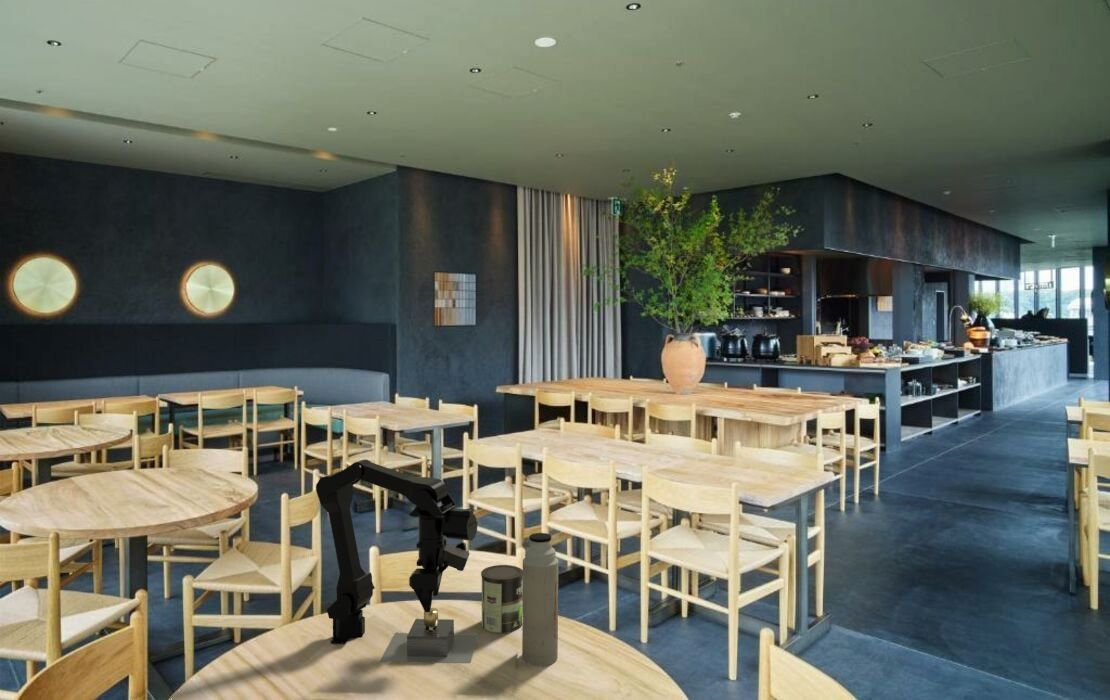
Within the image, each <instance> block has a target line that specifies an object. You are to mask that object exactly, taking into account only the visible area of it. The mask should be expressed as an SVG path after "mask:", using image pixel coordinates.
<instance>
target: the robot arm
mask: <svg viewBox="0 0 1110 700" xmlns="http://www.w3.org/2000/svg"><path fill="white" fill-rule="evenodd" d="M360 481H363V482H366V483H369V484H371V485H374V486H377V487H380V488H383V489H385V490H387V491H391V492H393V493H396V494H400V495H401V496H404V498H406V500H408V502H409V503H411V504H413V505H414V506H415V507H414V509H413V510H412V511H410V512H409V514H408V515H409V516H410V517H414V518H415V517H416V518H418V519H417V520H418V522H417V523H418V532H417V533H418V541H417V542H416V549H418V559H417V560H416V566H417V568H416V569H415V570H414V571H412V573H411V575H410V576H409V578H408V579H409V580H408V584H409V585H408V587H410V588H411V589H412V591H414V593H415V596H416V597H417V598H418V601H419V603H420V604H421V606H422V609H423V612H424V611H425V612H430V609H431V608H432V604H433V603H432V602H433V598H434V597H436V596H439V591H440V586H441V583H442V582H441V581H442V577H443V574H444V572H445V570H446V569H448V567H451V568H454V569H456V570H457V571H459V572H462V571H464V570H465V567H466V565H467V561H468V559H469V556H470V552H469V551H470V550H467V543H466V542H463V541H468V542H469V541H473V540H475V538H476V535H477V531H478V525H479V523H478V521H477V517H476V515H475V514H474V508H457V507H458V505H457V504H456V502H455V500H454V499H453V497H452V496H451V494H450V493H449V491H448V487H447V485H446V483H445V482H444V480H442V479H440V478H435V477H428V476H412V475H409V474H406V473H403V472H400V471H397V470H395V469H391V468H389V467H386V466H383V465H380V464H378V463H374V462H372V461H371V460H368V459H365V458H364V459H361V460H358V461H355V462H353V463H352V464H351V465H349V466H347V467H345V468H344V469H343V470H340V471H339V470H338V471H337V472H334V473H330V474H327V475H325V476H322V477H320V479H318V481H317V482H316V484H315V491H316V495H317V497H318V500H319V503H320V505H321V506H322V508H323V509H324V510H325V511H326V512H327V514H328V517H329V524H330V530H331V533H332V539H333V540H332V541H333V545H334V548H335V555H336V559H337V560H336V561H337V566H338V572H339V574H338V575H339V576H338V579H337V582H336V588H335V594H336V600H335V601H334V602H333V603H331V604H330V605H329V607H327V609H326V613H327V616H328V618H329V620H331V619H332V638H330V639H331V640H330V642H329V643H330V644H340V645H346V644H347V643H348V641H350V640H352V639H355V638H357V639H359V638H363V636H364V634H365V633H366V618H365V616H363V613H364V612H363V609H364V608H366V607H367V604H368V602H369V601H370V600H371V599H372V597H373V595H374V589H376V587H375V585H374V583H373V574H372V572H366V571H364V570H363V568H362V566H361V563H360V562H361V561H360V556H359V551H358V546H357V539H356V536H355V530H354V525H353V524H354V523H353V519H352V513H351V504H352V501H353V497H354V486H355V485H356V484H357V483H359V482H360ZM439 504H442V505H440V506H439ZM448 539H452V540H461V541H459V542H457V544H455V545H454V544H452V545H451V544H448ZM418 567H422V568H418Z"/></svg>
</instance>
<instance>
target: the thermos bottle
mask: <svg viewBox="0 0 1110 700" xmlns="http://www.w3.org/2000/svg"><path fill="white" fill-rule="evenodd" d="M524 556H525V557H524V558H523V559H522V570H523V590H522V625H523V628H521V629H522V630H521V632H522V635H521V636H522V637H521V638H522V640H521V641H522V642H521V643H522V644H521V645H522V647H521V649H522V652H521V656H522V660H523V662H524V663H525V664H527V665H530V666H535V667H545V666H550V665H553V664H554V663H555V662H557V661H558V658H559V657H558V651H559V650H558V649H559V647H558V645H559V644H558V643H559V642H558V641H559V639H558V638H559V559H558V558H557V557H556V556H557V553H556V549H555V548H554V547H552V535H551V534H550V533H547V532H535V533H531V534H530V535H529V547H527V548H526V550H525V555H524Z"/></svg>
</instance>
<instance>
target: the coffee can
mask: <svg viewBox="0 0 1110 700" xmlns="http://www.w3.org/2000/svg"><path fill="white" fill-rule="evenodd" d="M480 576H481V628H482V629H484V630H485V631H487V632H490V633H493V634H508V633H512V632H516V631H517V630H519V629H521V631H522V629H523V568H521V567H519V566H515V565H510V564H509V565H508V564H496V565H490V566H488V567H485V568H484V569H482V570H481V571H480Z"/></svg>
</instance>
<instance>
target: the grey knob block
mask: <svg viewBox="0 0 1110 700" xmlns="http://www.w3.org/2000/svg"><path fill="white" fill-rule="evenodd" d="M410 627H411V628H410V629H409V632H407V633H408V635H407V656H414V657H448V654H449V651H450V648H451V645H452V643H453V640H454V634H455V619H446V618H445V619H443V618H441V619H440V618H438V625H436V626H433V630H429V627H427V626H425V625H424V618H415V619H414V621H413V622H412V625H411V626H410Z"/></svg>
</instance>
